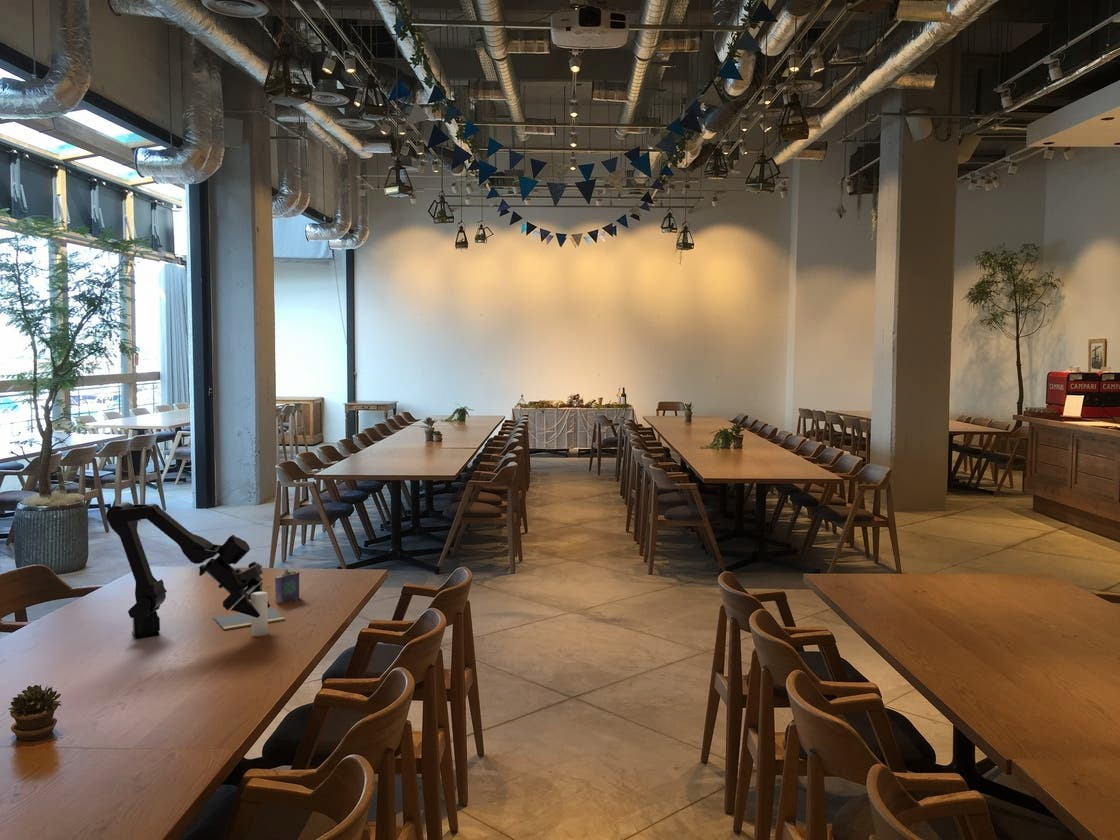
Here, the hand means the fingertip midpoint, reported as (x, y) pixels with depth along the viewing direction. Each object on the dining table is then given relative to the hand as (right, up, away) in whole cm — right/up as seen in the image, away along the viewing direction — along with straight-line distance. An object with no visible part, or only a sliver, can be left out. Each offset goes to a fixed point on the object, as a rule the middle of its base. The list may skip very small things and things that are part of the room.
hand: (264, 611), depth 255 cm
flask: (-4, -4, +35) cm, 35 cm away
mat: (-10, -5, +14) cm, 18 cm away
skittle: (-1, -7, 0) cm, 7 cm away
